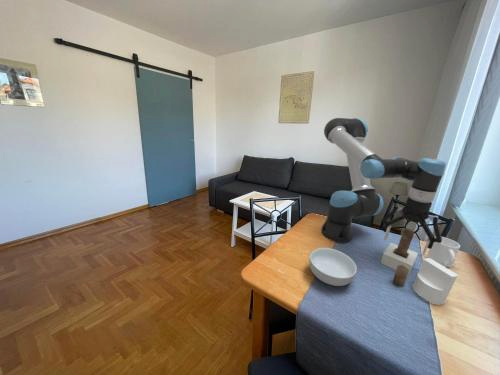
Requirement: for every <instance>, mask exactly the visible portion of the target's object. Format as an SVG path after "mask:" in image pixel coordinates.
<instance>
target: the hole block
mask: <svg viewBox="0 0 500 375" xmlns="http://www.w3.org/2000/svg"><path fill="white" fill-rule="evenodd" d="M398 245H399V244H395V243H394V242H390V243H389V244H388V246H387V248H386V249H385V251H384V252H383V254H382V256H381V260H380V264H381V265H384V266H387V267H389V268H390V269H392V270H395V271H396V269H397V266H398V265H402V266H404V267H406V268H408V269H409V273H408V275H407V277H408V276H410V274H411V272H412V269H413V267H414V264H415V263H416V262H415V261H416V259H417V257H418V254H419V253H418V252H417V251H415V250H412V249H410V248H409V249H408V251H407V254H406V257H405V258H404V257H401V256H399V255H397V254H395V253H396V251H397V248H398Z"/></svg>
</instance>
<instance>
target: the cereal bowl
mask: <svg viewBox="0 0 500 375" xmlns="http://www.w3.org/2000/svg"><path fill="white" fill-rule="evenodd" d="M308 258H309V259H308V262H309V268H310V270H311V272H312V273H313V275H314V276H315V277H316V278H317V279H318V280H320V281H321V282H323V283H324V284H328V285H331V286H334V287H335V286H336V287H344V286H346V285H349V284H350V283H352V282H353V281H354V279H355V277H356V274H357V272H358V269H357V268H358V267H357V265H356V263H355V262H354V260H353V259H352V258H351V257H350V256H348V255H347V254H346V253H344V252H342V251H341V250H337V249H334V248H330V247H318V248H315V249H313V251H311V253H310V254H309V257H308Z"/></svg>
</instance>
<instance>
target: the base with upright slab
mask: <svg viewBox="0 0 500 375" xmlns="http://www.w3.org/2000/svg"><path fill="white" fill-rule="evenodd" d="M420 265H421V266H420V268H419V270H418V272H417V274H416V277H415V279H414V282H413V285H412V290H413V292H414V291H415V292H416V293H417V294H418V295H419V296H421V297H422V298H424V299H426V300H427V301H426V300H425V301H426V302H428V301H429V302H428V303H430V302H431V303H430V304H433V303H434V304H433V305H437V304H441V305H444V304H445V302H446V301H447V299H448V297H449V295H450V292H451V290H452V288H453V286H454V284H455V282H456V280H457V278H458V275H459V274H457V273H455V272H454V271H452V270H451V269H449V268H448V267H444V266H442V265H441V264H439V263H437V262H436V261H434V260H432V259H431V258H427V257H426V258H423V260H422V263H421V264H420ZM415 292H414V293H415ZM416 293H415V294H416ZM417 294H416V295H417ZM418 295H417V296H418ZM419 296H418V297H419ZM421 297H420V298H421ZM422 298H421V299H422ZM424 299H423V300H424Z"/></svg>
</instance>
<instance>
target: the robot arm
mask: <svg viewBox="0 0 500 375" xmlns="http://www.w3.org/2000/svg"><path fill="white" fill-rule="evenodd" d="M368 127H369V126H368V124H367V123H366V121H365V120H363V119H360V118H356V117H355V118H344V117H334V118H332V119H330V120H329V121H327V123H326V124H325V126H324V129H323V133H324V137H325V139H326V140H327V141H328V142H329V143H331V144H334V145H336V146H337V147H338V148H339V149H340V150H341V151H342V152H344V153H345V154H346V159H347V164H348V169H349V170H348V171H349V175H350V181H351V188H352V189H351V190H337V191H334V192H333V193H332V195H331V197H330V200H329V207H328V211H327V217H326V220H324V222H323V224H322V226H321V229H320V233H321V234H322V236H323V237H324V238H327V240H330V241H332V242H336V243H349V242H351V241H352V238H353V229H352V222H353V218H360V217H372V216H376V215H379V214H380V213H381V212H382V210H383V208H384V205H385V204H384V198H383V196H382V195H381V194H379V193H378V192H376V188H375V187H373V186H372V184H371V179H373V180H375V179H392V178H393V179H395V178H396V179H397V178H401V179H405V180H408V181H411V182H412V184H411V187H410V189H409V192H408V197H407V198H406V201H405V205H404V207H403V206H400V205H399V204H396V205H395V206H394V207H393V209H392V211H390V212H389V213H388V214H387V215H386V216H385V217H384V218H382V219H381V220H380V223H381V224H383V225H384V226H383V232H384V233H385V234H384V238H383V241H387V240H388V237H389V234H390V231H391V228H392V225H393V224H395V223H398V222H400V221H402V220H405V219H406V220H407V221H411V222H413V223H416V224H419V225H420V226H421V227H422V229H423V231H424V233H425V234H426V236H427V240H426V243H425V246H424V248H423V250H422V253H421V255H422V256H425V255H426V253H427V249H429V250H430V249H431V248H432V246H433V243H434V242H438V243H441V241H442V237H443V236H442V234H441V230H440V226H439V221H438V220H439V216H438V215H431V214H429V213H430V210H431V208H432V205H433V203H432V202H433V201H434V199H435V197H436V194H437V192H438V191H437V190H438V188H439V185H440V183H441V181H442V178H443V176H444V175H445V169H446V167H447V163H446V162H445V161H444V160H442V159H441V160H440V159H434V158H426V157H425V158H423V157H422V158H421V159H420V160H419V161H415V160H410V159H407V158H403V157H398V156H397V157H391V158H388V159H385V158H382V157H381V156H380V155H378V154H376V153H375V152H374V151H373V150H371V149H370V148H368V147H367V146H366V145H364V144H363V143H364V141H365V140H366V139H365V138H366V137H367V135H368V131H369V130H368V129H369V128H368ZM400 211H401V212H402V214H401V215H398V216H397V217H394V218H392V219H391V220H388V219H390V218H391V217H392V216H393V215H394V214H396V213H397V212H400ZM427 219H430V222H432V227H433V231H434V234H433V232H432V231H431V229H430V228H429V225H428V223H427V221H426V220H427ZM434 235H435V236H434ZM435 237H436V238H435Z"/></svg>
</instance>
